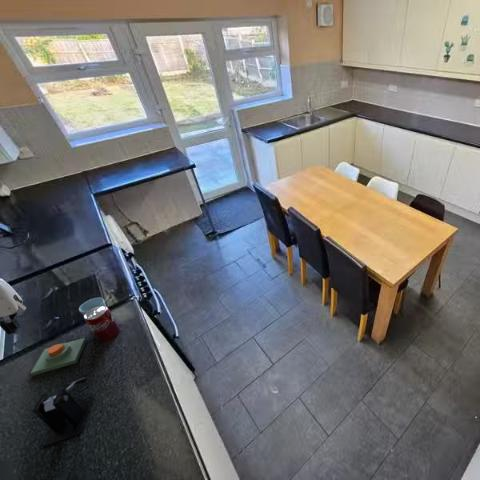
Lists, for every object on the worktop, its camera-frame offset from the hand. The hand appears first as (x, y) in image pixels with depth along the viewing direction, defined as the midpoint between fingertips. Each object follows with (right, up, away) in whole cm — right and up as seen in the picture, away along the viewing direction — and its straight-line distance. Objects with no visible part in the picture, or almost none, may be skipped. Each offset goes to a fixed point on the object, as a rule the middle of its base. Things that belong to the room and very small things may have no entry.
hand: (14, 330), depth 81 cm
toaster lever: (+21, -17, -6) cm, 27 cm away
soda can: (+12, -9, +21) cm, 26 cm away
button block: (+2, -14, +13) cm, 19 cm away
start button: (+2, -11, +11) cm, 16 cm away
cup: (+6, -6, +26) cm, 28 cm away
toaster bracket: (+22, -24, -6) cm, 33 cm away
